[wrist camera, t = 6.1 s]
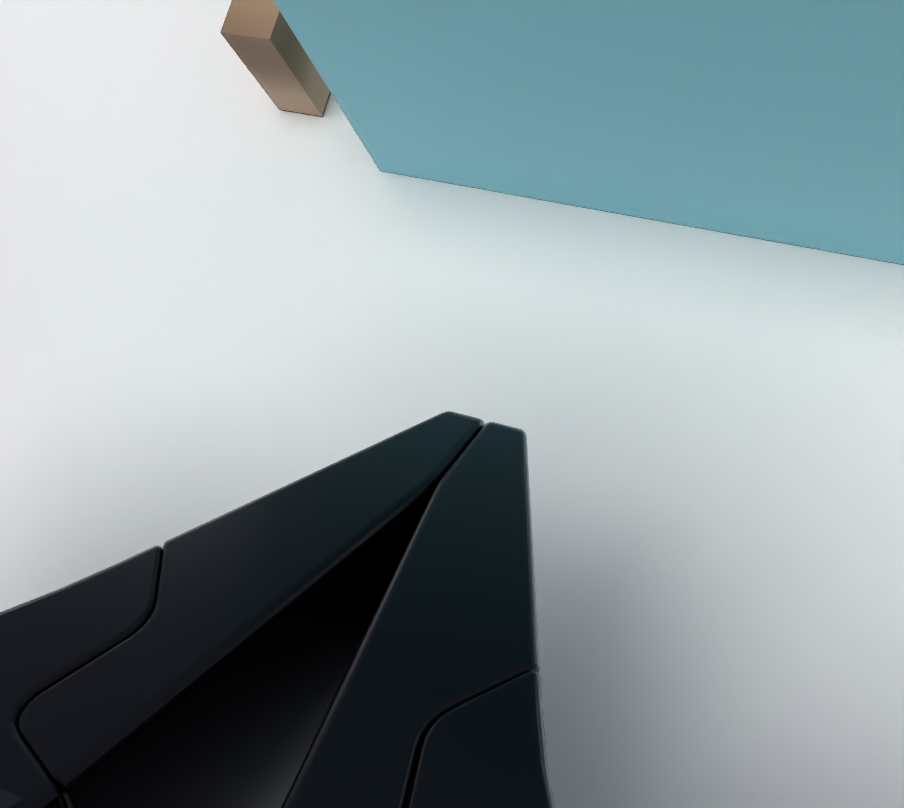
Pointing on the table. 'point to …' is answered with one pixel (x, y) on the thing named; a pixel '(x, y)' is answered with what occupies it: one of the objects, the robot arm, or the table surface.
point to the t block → (637, 106)
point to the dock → (275, 56)
